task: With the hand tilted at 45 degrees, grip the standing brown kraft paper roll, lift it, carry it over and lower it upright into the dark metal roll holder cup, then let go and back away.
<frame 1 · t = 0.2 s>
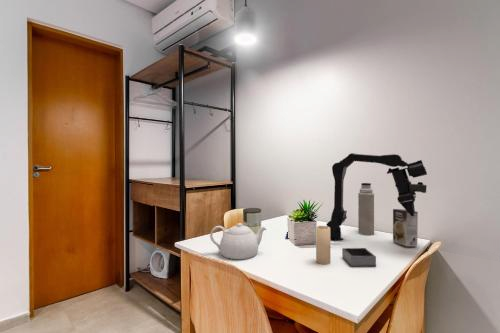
hand: (413, 214, 118), 16 cm above the table, tool tilted 15°, fingers open, 8 cm apart
thermos bottle: (366, 233, 146), on the table
teapot: (238, 254, 118), on the table
roll holder: (358, 262, 106), on the table
coffee box: (404, 244, 126), on the table, touching gripper
cell phone: (292, 236, 144), on the table
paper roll: (323, 261, 107), on the table
coffee can: (252, 234, 147), on the table
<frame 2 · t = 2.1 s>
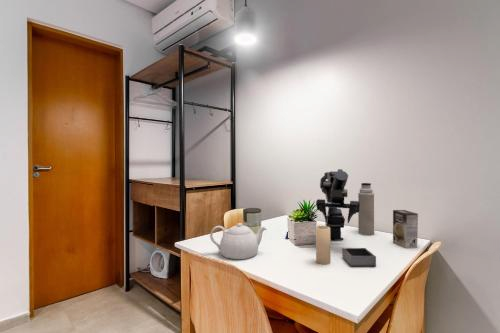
hand: (336, 221, 116), 14 cm above the table, tool tilted 45°, fingers open, 9 cm apart
coffee box: (404, 245, 126), on the table
everything else where it was.
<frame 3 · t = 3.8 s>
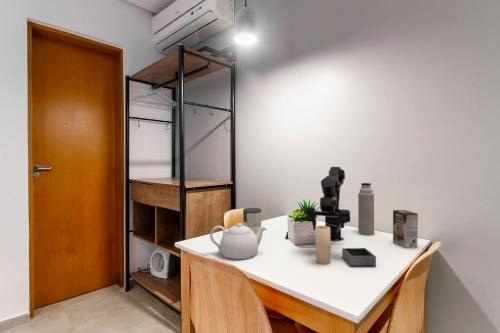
hand: (325, 231, 111), 11 cm above the table, tool tilted 45°, fingers open, 9 cm apart
nothing on the table moved.
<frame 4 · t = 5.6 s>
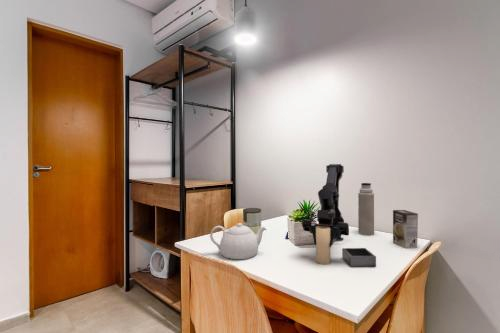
hand: (322, 245, 106), 7 cm above the table, tool tilted 45°, fingers closed on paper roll, 6 cm apart
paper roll: (323, 261, 107), on the table, touching gripper
everything else where it was.
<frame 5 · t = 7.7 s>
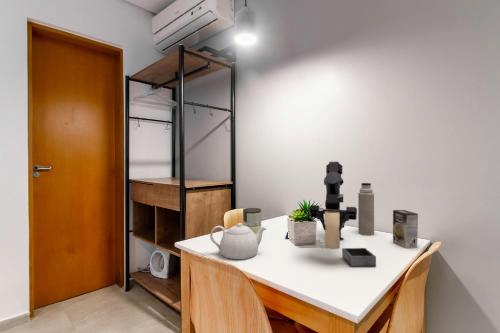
hand: (332, 230, 105), 13 cm above the table, tool tilted 45°, fingers closed on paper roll, 6 cm apart
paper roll: (332, 246, 106), point 6 cm above the table, touching gripper
everything else where it was.
when the fingers open (9 cm above the table, at t = 10.1 s): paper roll drops 1 cm, resting on roll holder.
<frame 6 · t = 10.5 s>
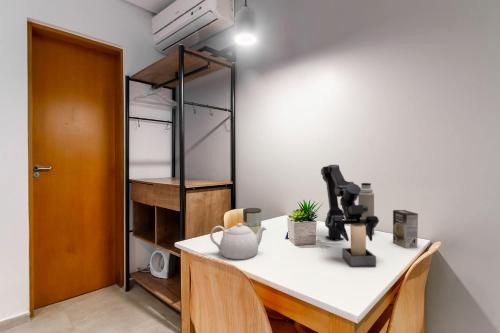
hand: (359, 240, 105), 9 cm above the table, tool tilted 45°, fingers open, 9 cm apart
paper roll: (358, 259, 106), point 1 cm above the table, touching roll holder
everything else where it was.
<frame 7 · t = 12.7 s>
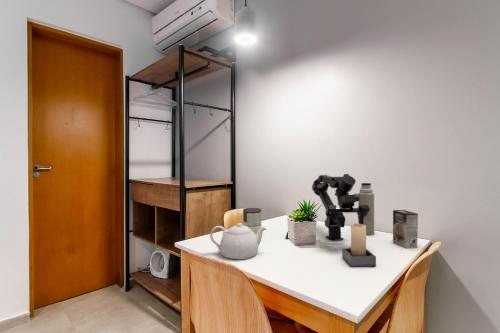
hand: (351, 226, 115), 12 cm above the table, tool tilted 45°, fingers open, 9 cm apart
nothing on the table moved.
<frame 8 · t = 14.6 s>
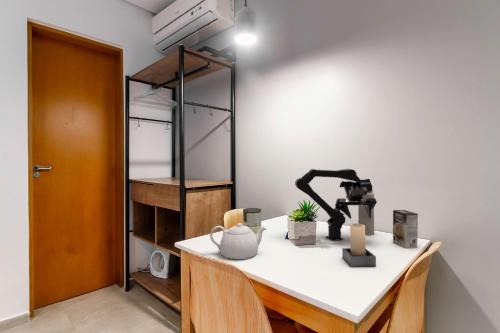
hand: (360, 218, 124), 14 cm above the table, tool tilted 45°, fingers open, 9 cm apart
nothing on the table moved.
at the end: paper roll 0.1 cm off-centre on the roll holder, point 0.8 cm above the roll holder's base; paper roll tilted 1°; the gripper is holding nothing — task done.
